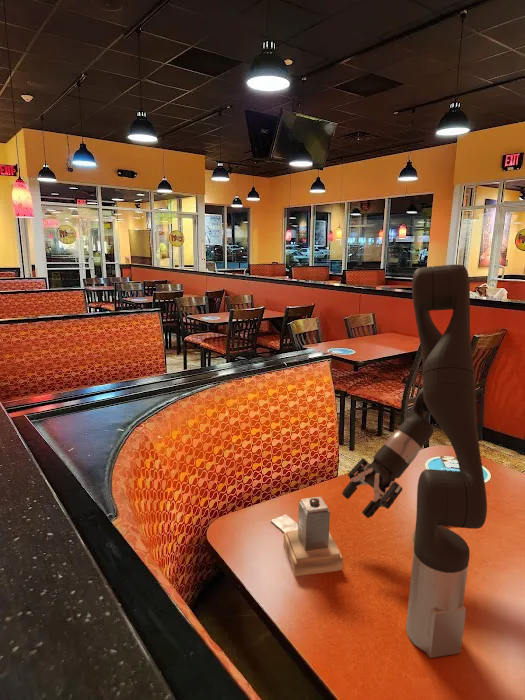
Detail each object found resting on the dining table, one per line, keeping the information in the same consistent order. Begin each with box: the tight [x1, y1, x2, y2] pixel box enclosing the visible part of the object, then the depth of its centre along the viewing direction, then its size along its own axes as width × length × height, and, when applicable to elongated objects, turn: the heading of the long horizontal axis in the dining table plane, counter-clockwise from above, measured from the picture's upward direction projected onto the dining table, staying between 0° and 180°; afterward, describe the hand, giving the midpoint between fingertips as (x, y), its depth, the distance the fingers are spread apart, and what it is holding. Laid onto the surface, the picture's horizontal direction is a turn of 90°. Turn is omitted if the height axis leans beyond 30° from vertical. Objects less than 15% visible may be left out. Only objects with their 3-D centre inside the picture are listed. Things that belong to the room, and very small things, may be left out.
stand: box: [283, 530, 344, 577], centre depth 106 cm, size 11×11×4 cm
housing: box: [297, 496, 331, 551], centre depth 105 cm, size 6×6×11 cm
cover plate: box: [270, 514, 298, 534], centre depth 119 cm, size 7×5×1 cm
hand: (354, 506), depth 108 cm, fingers open, 8 cm apart
